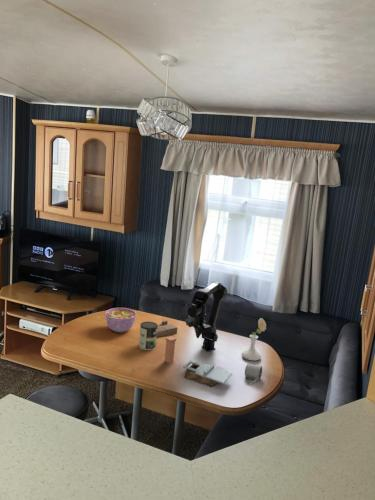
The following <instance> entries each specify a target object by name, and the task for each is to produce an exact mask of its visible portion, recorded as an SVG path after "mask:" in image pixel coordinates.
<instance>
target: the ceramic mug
mask: <svg viewBox="0 0 375 500" xmlns="http://www.w3.org/2000/svg"><path fill="white" fill-rule="evenodd" d="M262 374H263V366H262V365H257V364H252V363H247V364H246V365H245V368H244V379H245V382H246V383H248V384H250V383H252V384H254V383H256V382H259V380H261V378H262ZM247 378H248V379H251V381H250V380H248V379H247Z"/></svg>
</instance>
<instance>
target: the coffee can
mask: <svg viewBox="0 0 375 500" xmlns="http://www.w3.org/2000/svg"><path fill="white" fill-rule="evenodd" d="M139 326H140V328H139V343H138V347H139V349H141V350H144V351H153V350H155V349H156V348H157V338H158V337H157V327H158V324H157V323H156V322H154V321H143V322H141V323H140V325H139Z"/></svg>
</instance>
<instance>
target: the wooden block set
mask: <svg viewBox="0 0 375 500" xmlns="http://www.w3.org/2000/svg"><path fill="white" fill-rule="evenodd" d="M168 322H169V321H168V320H167V319H166V318H162V319H161V325H159V326H158V327H157V338H159V337H163V336H166V337H167V336H171V335H175V334H178V326H176V325H174V324H172V323H168Z"/></svg>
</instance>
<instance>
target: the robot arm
mask: <svg viewBox="0 0 375 500" xmlns="http://www.w3.org/2000/svg"><path fill="white" fill-rule="evenodd" d="M211 295H212V298H213V301H212V306H211V310H210V313H209V317H208V320H207V321H206V320H205V318H206V317H207V315H208V314H206V310H207V304H208V302H209V300H210V296H211ZM227 295H228V289H227V288H226V287H225V286H224V285H223V284H222V283H221V282H218V281H212V282H211V284H209V285H208V286H207V287H205V288H199V289H197V290H196V291H195V292H194V295H193V297H192V300H191V303H192V304H191V306H190V307H188V309H187V316H186V318H185V320H184V321H185V325H186V326H187V327H189V328H193V329H194V333H195V337H196V338H197V339H199V338H200V336H201V339H203V341H202V345H201V348H202V349H204V350H205V351H207V352H209V351H215V350H216V347H215V343H216V342H218V339H219V336H218V333H217V327H216V323H217V320H218V316H219V312H220V308H221V306H222V305H221V304H222V302H223V301H224V300H225V299H226V297H227Z"/></svg>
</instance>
